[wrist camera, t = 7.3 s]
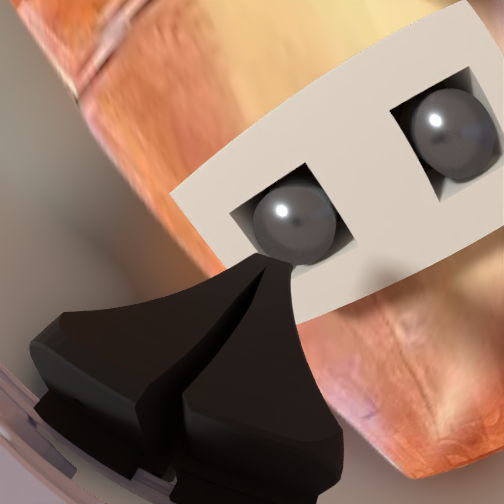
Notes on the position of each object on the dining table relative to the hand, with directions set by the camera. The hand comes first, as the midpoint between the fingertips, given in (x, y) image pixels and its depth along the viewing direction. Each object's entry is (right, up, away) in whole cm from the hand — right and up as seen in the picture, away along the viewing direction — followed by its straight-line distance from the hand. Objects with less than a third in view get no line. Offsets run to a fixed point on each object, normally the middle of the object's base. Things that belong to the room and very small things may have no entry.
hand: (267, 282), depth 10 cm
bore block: (+6, +6, +6) cm, 11 cm away
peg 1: (+3, +4, +8) cm, 9 cm away
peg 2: (+10, +8, +3) cm, 13 cm away
